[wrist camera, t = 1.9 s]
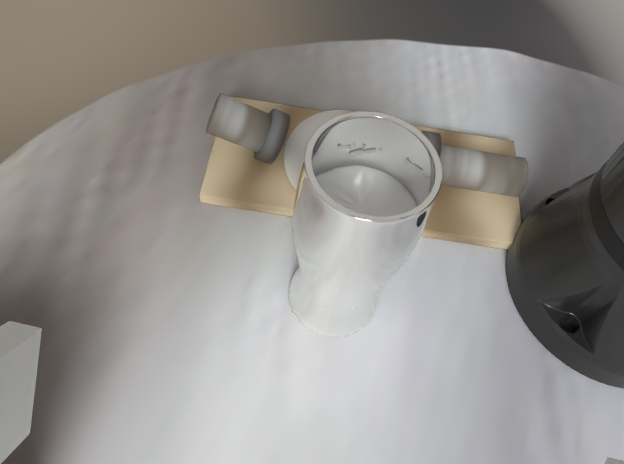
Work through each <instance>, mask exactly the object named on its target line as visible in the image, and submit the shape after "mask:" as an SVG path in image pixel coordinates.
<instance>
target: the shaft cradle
mask: <svg viewBox="0 0 624 464" xmlns="http://www.w3.org/2000/svg"><path fill="white" fill-rule="evenodd" d="M350 112H358V111H353V110H330V111H320V110H314V109H308V108H302V107H295V106H289V105H283V104H276V103H270V102H264V101H258V100H251V99H245V98H239V97H232V96H226V95H224V94H221V93H220V95H219V96H218V98H217V101H216V103H215V105H214V108H213V110H212V113H211V116H210V119H209V122H208V125H207V129H206V133H209V134H211V135H214V136H215V140H214V144H213V147H212V151H211V155H210V158H209V162H208V166H207V169H206V173H205V177H204V180H203V184H202V188H201V192H200V202H202V203H209V204H215V205H221V206H228V207H234V208H241V209H247V210H254V211H260V212H267V213H273V214H280V215H286V216H293V208H294V199H295V194H296V188H297V183H298V180H299V176H300V172H301V168H302V165H303V162H304V158H305V151H306V147H307V144H308V142H309V140H310V138H311V136H312V135H313V134H314V132H315V131H316V130H317V129H318V128H319V127H320V126H321V125H322V124H324V123H325V122H327V121H328V120H330V119H332V118H334V117H336V116H339V115H342V114H346V113H350ZM412 126H414V127H415V128H417V129H418V130H419V131H420V132H422V133H423V134H424V135H425V136H426V137H427V138H428V140H429V141H430V142H431V143H432V145H433V146H434V148H435V150H436V151H437V153H438V156H439V158H440V161H441V166H442V183H441V187H440V190H439V193H438V195H437V197H436V199H435V201H434V204H433V207H432V210H431V213H430V216H429V219H428V221H427V224H426V226H425V229H424V231H423V233H422V235H421V236H422V237H429V238H435V239H442V240H448V241H455V242H461V243H468V244H474V245H481V246H487V247H494V248H500V249H507V250H508V248H509V247H510V246H511V245H512V243H513V240H514V237H515V234H516V232H517V230H518V228H519V226H520V225H521V216H520V205H519V195H520V194H521V193H522V192H523V190H524V187H525V185H526V181H527V177H528V162H527V160H526V159H525V158H521V157H515V149H514V141H509V140H503V139H496V138H490V137H484V136H478V135H471V134H465V133H459V132H452V131H446V130H440V129H434V128H427V127H421V126H415V125H412Z"/></svg>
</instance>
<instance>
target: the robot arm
mask: <svg viewBox="0 0 624 464" xmlns="http://www.w3.org/2000/svg"><path fill="white" fill-rule="evenodd" d="M506 272H507V280H508V285H509V289H510V292H511V295H512V298H513V301H514V303H515V305H516V308H517V310H518V312H519V314H520V315H521V317H522V319H523V320H524V322H525V323H526V325H527V326H528V328H529V329H530V331H531V332H532V333H533V334H534V336H535V337H536V338H537V339H538V340H539V341H540V342H541V343H542V345H543V346H544V347H545V348H546V349H548V350H549V351H550V352H551V353H552V354H553V355H554V356H556V357H557V358H558V359H559V360H561V361H562V362H563V363H565V364H566V365H568V366H569V367H571V368H572V369H574V370H575V371H577V372H579V373H581V374H583V375H585V376H587V377H589V378H591V379H593V380H596V381H598V382H601V383H604V384H607V385H611V386H615V387H619V388H624V143H623V144H622V145H621V146H620V147H619V148H618V150H617V151H616V152H615V153H614V154H613V155H612V156H611V158H610V159H609V160H608V161H607V162H606V163H605V164H604V166H603V167H602V168H601V169H600V170H599V171H598V172H596V173H594V174H592V175H590V176H588V177H586V178H584V179H582V180H580V181H579V182H577V183H575V184H574V185H572V186H571V187H569V188H566V189H563V190H561V191H559V192H556V193H554V194H552V195H551V196H549V197H547V198H546V199H544V200H543V201H541V202H540V203H539V204H538V205H537V206H536V207H535V208H533V210H532V211H531V212H530V213H529V214H528V215H527V217H526V218H525V219H524V221H523V222H522V223H521V225H520V226H519V228H518V230H517V232H516V234H515V237H514V240H513V243H512V245H511V246H510V247H509V248H508V252H507V261H506ZM41 332H42V328H39V327H34V326H30V325H26V324H21V323H17V322H13V321H8V322H7V323H5V324H4V325H2V326H0V464H1V463H2V462H3V461H4V460H5V459H6V458H7V457H8V456H9V455H10V454H11V453H12V452H13V451H14V450H15V449H16V448H17V447H18V445H19V444H20V443H21V442H22V441H23V440H24V439H25V438H26V437H27V436H28V435H29V434H30V429H31V421H32V412H33V403H34V394H35V385H36V376H37V368H38V359H39V350H40V341H41ZM605 464H624V461H622V460H617V459H613V458H608V457H607V460H606V462H605Z"/></svg>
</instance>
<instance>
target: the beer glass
mask: <svg viewBox="0 0 624 464" xmlns="http://www.w3.org/2000/svg"><path fill="white" fill-rule="evenodd" d="M441 183H442V166H441V161H440V158H439V156H438V153H437V151H436V150H435V148H434V146H433V145H432V143H431V142H430V141H429V140H428V138H427V137H426V136H425V135H424V134H423V133H422V132H420V131H419V130H418V129H417V128H415V127H414V126H412V125H411V124H409V123H407V122H406V121H404V120H402V119H399V118H397V117H394V116H391V115H388V114H384V113H379V112H371V111H358V112H350V113H346V114H342V115H339V116H336V117H334V118H332V119H330V120H328V121H327V122H325V123H324V124H322V125H321V126H320V127H319V128H318V129H317V130H316V131H315V132H314V134H313V135H312V136H311V138H310V140H309V142H308V144H307V147H306V151H305V158H304V162H303V165H302V168H301V172H300V176H299V180H298V183H297V188H296V194H295V199H294V208H293V234H294V243H295V248H296V254H297V259H298V264H299V267H298V268H297V270H296V272H295V273H294V275H293V277H292V280H291V283H290V286H289V302H290V306H291V309H292V311H293V313H294V315H295V317H296V318H297V319H298V321H299V322H300V323H301V324H302V325H303V326H304V327H306V328H307V329H308V330H310V331H312V332H314V333H316V334H318V335H321V336H325V337H332V338H338V337H345V336H349V335H352V334H354V333H356V332H357V331H359V330H360V329H362V328H363V327H364V326H365V325H366V324H367V323H368V322H369V321H370V319H371V318H372V316H373V314H374V311H375V308H376V303H377V291H378V290H379V289H380V288H381V287H382V286H383V285H384V284H385V283H386V282H387V281H389V280H390V279H391V278H392V277H393V276H394V275H395V274H396V273H397V271H398V270H399V269H400V268H401V267H402V266H403V264H404V263H405V262H406V261H407V259H408V258H409V257H410V255H411V253H412V252H413V250H414V248H415V247H416V245H417V243H418V242H419V240H420V237H421V235H422V233H423V231H424V229H425V226H426V224H427V221H428V219H429V216H430V213H431V210H432V207H433V204H434V201H435V199H436V197H437V195H438V193H439V190H440V187H441Z"/></svg>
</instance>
